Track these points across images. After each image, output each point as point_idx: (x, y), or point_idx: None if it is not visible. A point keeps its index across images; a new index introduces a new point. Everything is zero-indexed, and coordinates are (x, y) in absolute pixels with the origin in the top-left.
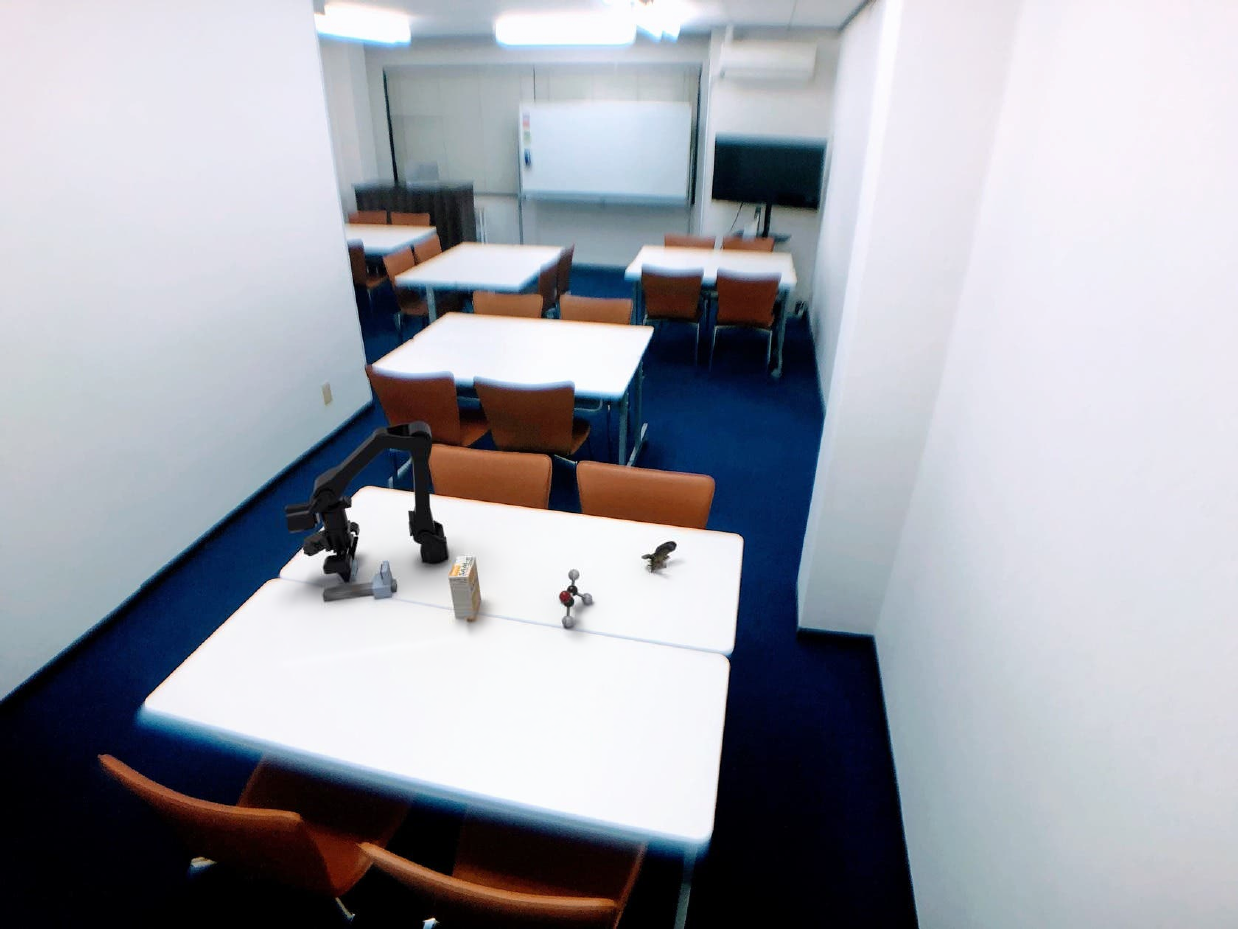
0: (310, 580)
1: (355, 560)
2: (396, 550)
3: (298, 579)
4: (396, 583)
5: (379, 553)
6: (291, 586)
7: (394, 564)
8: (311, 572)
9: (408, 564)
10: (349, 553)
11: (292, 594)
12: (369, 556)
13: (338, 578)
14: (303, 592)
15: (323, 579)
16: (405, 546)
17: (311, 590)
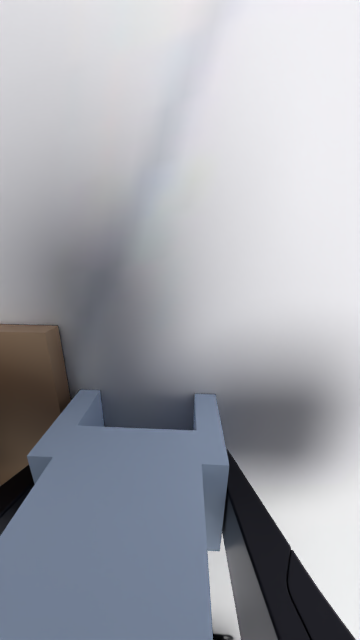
0: (176, 189)
1: (216, 545)
2: (313, 576)
3: (217, 62)
4: None
5: (322, 528)
6: (122, 4)
7: (208, 569)
8: (286, 177)
9: None
10: (252, 637)
11: (5, 52)
12: (317, 496)
13: (43, 438)
14: (30, 158)
15: (167, 287)
16: (327, 598)
17: (52, 221)
